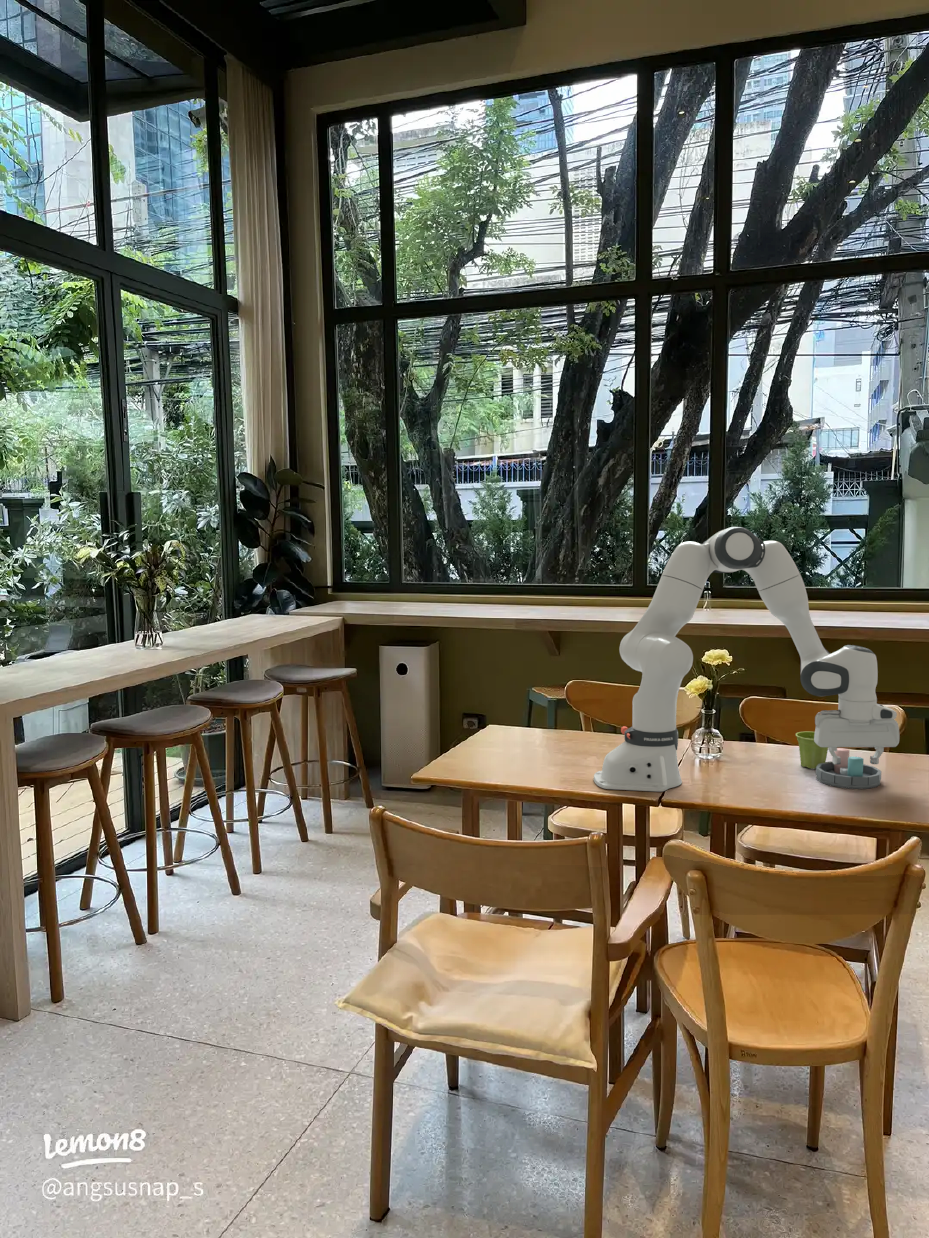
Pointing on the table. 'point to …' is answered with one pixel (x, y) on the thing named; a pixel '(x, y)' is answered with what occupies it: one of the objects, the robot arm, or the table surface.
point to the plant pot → (810, 750)
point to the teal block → (855, 766)
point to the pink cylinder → (844, 759)
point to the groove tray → (848, 777)
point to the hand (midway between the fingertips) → (855, 763)
